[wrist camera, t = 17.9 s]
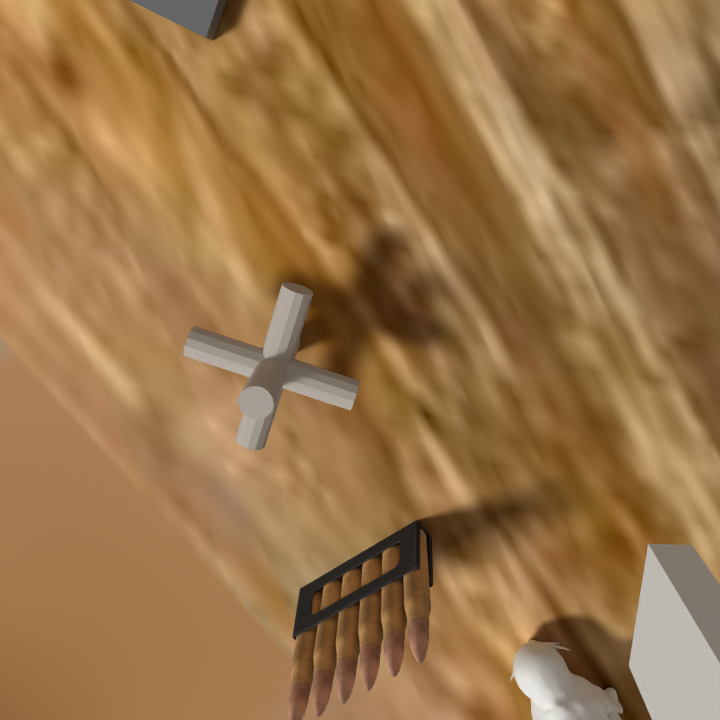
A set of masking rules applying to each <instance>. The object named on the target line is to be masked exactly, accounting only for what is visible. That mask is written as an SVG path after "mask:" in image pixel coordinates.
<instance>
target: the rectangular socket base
mask: <svg viewBox="0 0 720 720" xmlns="http://www.w3.org/2000/svg"><path fill="white" fill-rule="evenodd" d="M131 1H133V2H135V3H137V4H139V5H141V6H143V7H145V8H147V9H149V10H151V11H153V12H155V13H157V14H159V15H161V16H163V17H165V18H167V19H169V20H171V21H173V22H176V23H178V24H180V25H182V26H184V27H186V28H188V29H190V30H192V31H194V32H196V33H198V34H200V35H202V36H204V37H206V38H208V39H211V40H213V39H214V36H215V33H216V30H217V28H218V25H219V22H220V19H221V16H222V13H223V10H224V7H225V4H226V1H227V0H131Z"/></svg>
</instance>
